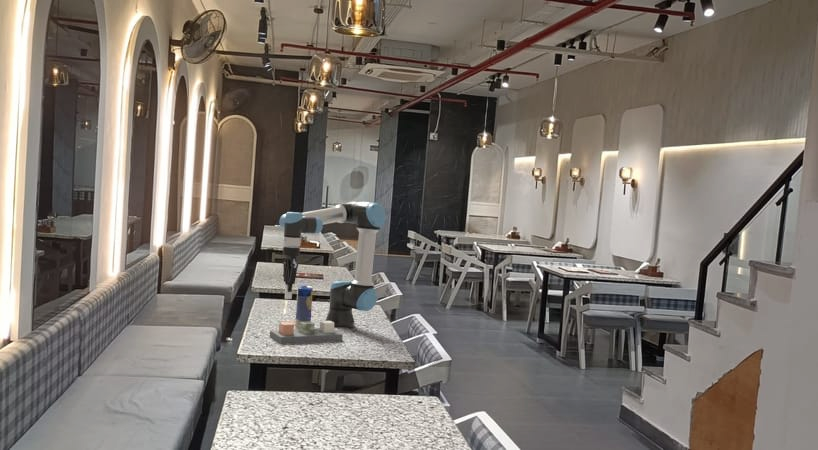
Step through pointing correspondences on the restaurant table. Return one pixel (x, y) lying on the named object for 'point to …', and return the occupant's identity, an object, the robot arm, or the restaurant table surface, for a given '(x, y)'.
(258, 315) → the restaurant table surface
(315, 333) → the gray slotted block tray
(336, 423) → the restaurant table surface
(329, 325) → the off-white block
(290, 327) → the terracotta block
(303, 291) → the beverage box
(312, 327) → the sage block
